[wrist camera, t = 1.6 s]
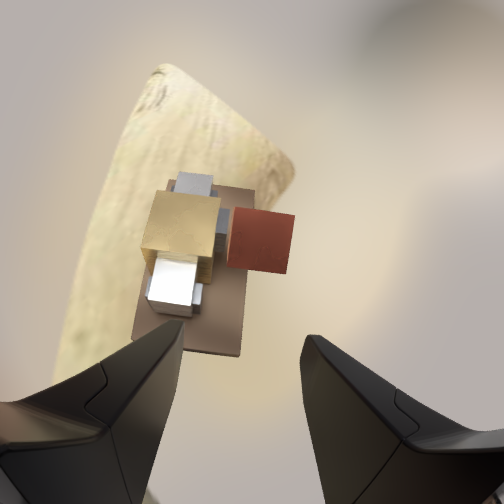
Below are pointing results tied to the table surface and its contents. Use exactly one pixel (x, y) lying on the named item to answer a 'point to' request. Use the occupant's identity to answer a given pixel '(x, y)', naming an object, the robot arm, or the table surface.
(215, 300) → the board
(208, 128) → the table surface
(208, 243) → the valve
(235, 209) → the lever
